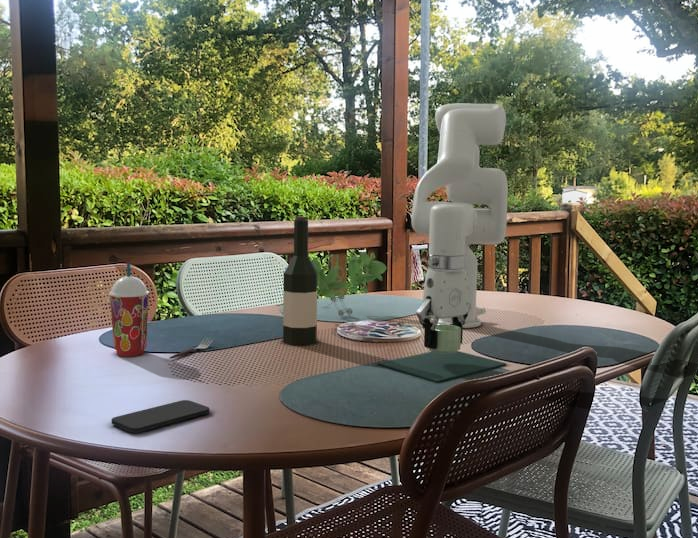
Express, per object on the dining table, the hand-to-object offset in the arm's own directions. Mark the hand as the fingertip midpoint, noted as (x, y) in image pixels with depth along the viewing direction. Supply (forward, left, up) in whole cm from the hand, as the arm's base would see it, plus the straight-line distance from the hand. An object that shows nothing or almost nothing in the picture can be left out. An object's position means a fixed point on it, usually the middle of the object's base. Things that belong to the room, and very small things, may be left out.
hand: (443, 344), depth 161 cm
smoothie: (+48, -49, -5) cm, 69 cm away
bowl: (0, 0, -1) cm, 1 cm away
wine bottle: (+11, -36, -5) cm, 38 cm away
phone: (+63, -5, -5) cm, 63 cm away
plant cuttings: (-16, -57, -5) cm, 59 cm away
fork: (+37, -42, -5) cm, 56 cm away
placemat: (0, 0, -5) cm, 5 cm away
